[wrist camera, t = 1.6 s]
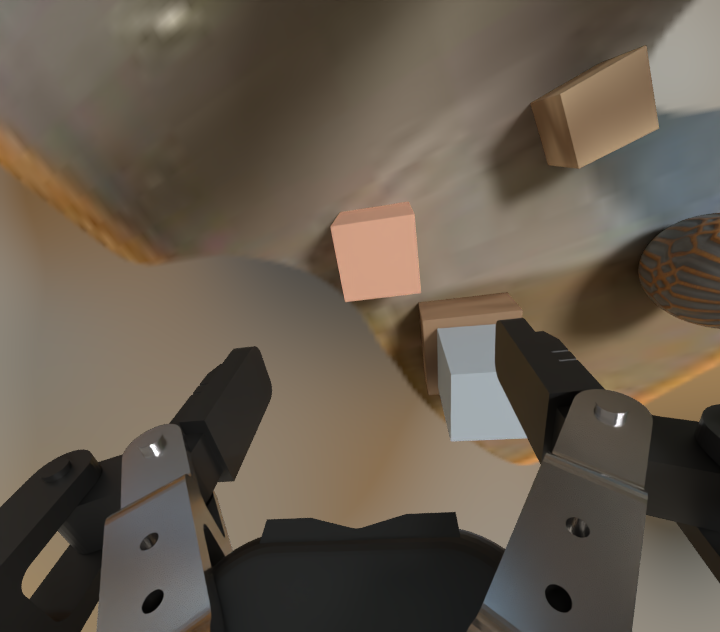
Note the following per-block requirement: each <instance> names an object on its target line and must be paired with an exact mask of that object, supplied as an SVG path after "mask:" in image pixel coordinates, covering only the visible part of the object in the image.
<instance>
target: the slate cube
mask: <svg viewBox="0 0 720 632" xmlns="http://www.w3.org/2000/svg"><path fill="white" fill-rule="evenodd" d="M495 328H496V324H491V325H477V326H464V327H451V328H438V329H437V353H438V389H439V393H440V398H441V402H442V406H443V410H444V415H445V419H446V423H447V427H448V432H449V436H450V440H451V441H471V440H495V439H520V438H527V436H526V434H525V432H524V430H523V428H522V426H521V424H520V422H519V420H518V418H517V416H516V414H515V412H514V410H513V408H512V406H511V404H510V402H509V400H508V398H507V396H506V394H505V392H504V390H503V388H502V386H501V384H500V382H499V380H498V378H497V374H496V369H495Z"/></svg>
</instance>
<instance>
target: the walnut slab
mask: <svg viewBox="0 0 720 632" xmlns="http://www.w3.org/2000/svg"><path fill="white" fill-rule="evenodd" d="M522 313H523V310H522V309H521V307H520V306H519V305H518V304H517V303H516V302H515V300H514V299H513V298H512V297H511V296H510V295H509V293H508V292H507V293H498V294H489V295H481V296H472V297H463V298H454V299H446V300H437V301H428V302H420V303H419V315H420V327H421V339H422V351H423V362H424V373H425V378H426V384H427V389H428V395H438V394H440V393H439V389H438V353H437V329H438V328H451V327H464V326H477V325H491V324H496V322H497V321H498V320H505V319H515V318H522Z"/></svg>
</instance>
